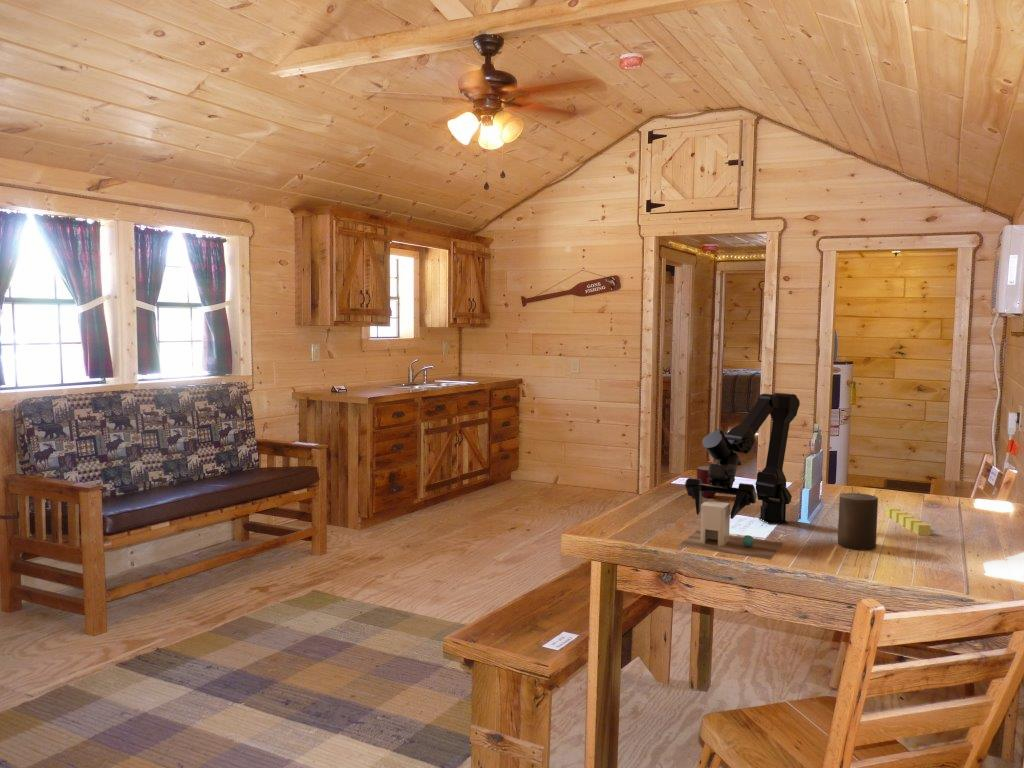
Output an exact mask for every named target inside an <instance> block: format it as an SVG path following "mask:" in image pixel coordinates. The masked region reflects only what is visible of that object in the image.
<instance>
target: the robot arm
mask: <svg viewBox="0 0 1024 768" xmlns="http://www.w3.org/2000/svg"><path fill="white" fill-rule="evenodd" d="M800 404H801V403H800V399H799V398H798V396H797V394H794V393H783V392H774V393H773V394H772V393H760V394H759V396H758V398H757V401H756V402H755V404H754V405H753V407H752V408H751V409H750V411H749V412H748V413H747V415H745V417H744V419H743V420H742V421H741V422H740V424H739V425H736V426H734V427H732V428H731V429H729V431H727V432H726V434H725V433H724V432H723V430H722V429H719V428H718V429H714V431H712V432H710V433H708V434H707V435H705V436H704V437H703V439H702V441H701V442H702V445H703V447H704V449H705V450H706V451H707V452H708V454H709V455H710V457H711V458H712V459H714V460H716V464H715V463H709V465H708V466H709V470H708V476H710V477H709V481H710V482H711V485H708V484H702V481H701V479H697V478H695V477H688V478H687V479H686V480H685V483H684V487H685V489H686V492H687V494H688V496H689V497H691V498H692V499H693V500H694V501H695V512H696V516H697V515H698V516H699V515H700V514H701V508H700V506H701V504H703V500H704V497H703V493H704V492H713V493H716V494H719V495H720V494H721V495H729V496H735V500H734V501H733V505H732V507H731V510H730V520H733V519H734V518H735V516H737V515H738V513H739V512H740V511H741V510H743V509H744V508H745V507H747V506H750V505H753V504H755V503H756V502H757V500H758V501H761V505H760V516H759V517H758V519H759V520H760V519H762V520H764V521H766V522H768V523H767V524H769V523H777V524H788V523H789V521H788V520H786V515H787V512H786V511H787V509H786V508H787V505H789V504H790V503H792V502H791V501H792V497H793V496H792V494H791V493H790V491H789V489H788V488H787V477H786V475H785V474H784V471H783V469H784V468H783V467H784V462H785V456H786V448H787V444H788V443H787V442H788V436H789V430H790V425H791V422H792V421H793V420H794V419H795V418H796V416H797V415H798V411H799V407H800ZM769 416H770V417H771V419H772V423H771V429H770V437H769V443H768V449H767V456H766V461H765V467H764V468H763V469H762V471H758V472H757V474H756V481H755V484H751V483H743V482H740V483H739V484H738V487H733V485H734V483H735V480H736V478H735V476H736V473H737V470H738V469H737V467H738V466H742V460H740V456H739V455H738V454H737V453H739V454H745V455H746V454H747V455H748V453H749V452H751V450H752V449H753V446H754V444H755V442H756V437H755V436H756V434H757V433H758V431H759V429H760V428H761V427H762V425H763V424H764V422H765V421H766V420H767V418H768V417H769ZM754 485H755V486H754ZM762 520H761V521H762ZM764 521H763V522H764ZM766 522H765V523H766ZM787 522H788V523H787Z"/></svg>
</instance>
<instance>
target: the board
mask: <svg viewBox="0 0 1024 768" xmlns="http://www.w3.org/2000/svg"><path fill="white" fill-rule="evenodd" d="M700 537H701V530H696V531H695V532H693V533H692V534H691V535H689V536H688V537H687V538H686V539H684V540H683V541H682V542H681V543H679V544H678V545H677V546H678V547H683V548H688V549H689V548H691V549H697V550H702V551H703V550H704V551H710V552H715V553H716V552H717V553H724V554H729V555H730V554H731V555H737V556H744V557H750V558H758V559H763V560H772V558H773V556H774V555H775V554H776V553H777V552H778V550H779V549H780V548H781V547H782V546H783V544H784V542H780V541H773V540H768V539H767V540H766V539H760V538H753V539H754V544H753V545H752V546H750V547H747V546H745V545H744V544H743V542H742V540H743V537H744V536H739V535H730V534H729V541H728V542H727V543H726V544H725V545H724V546H723V545H721V546H718V540H714V539H707V540H706V541H705V544H703V543H702V542H700Z"/></svg>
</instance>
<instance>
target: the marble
mask: <svg viewBox="0 0 1024 768" xmlns="http://www.w3.org/2000/svg"><path fill="white" fill-rule="evenodd" d="M742 537H743V540H742V542H743V544H744V545H745V546H747V547H750V546H752V545H753V544H754V539H755V538H754V537H753V536H751V535H744V536H742Z"/></svg>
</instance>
